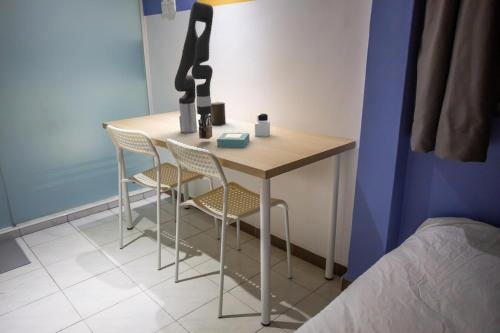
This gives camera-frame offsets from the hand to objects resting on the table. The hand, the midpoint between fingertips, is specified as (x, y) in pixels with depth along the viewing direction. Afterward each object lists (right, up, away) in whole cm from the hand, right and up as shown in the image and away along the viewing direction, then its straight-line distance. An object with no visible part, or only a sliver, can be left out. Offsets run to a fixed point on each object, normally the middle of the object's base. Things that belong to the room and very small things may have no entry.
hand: (205, 136), depth 199 cm
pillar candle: (+3, +11, +45) cm, 47 cm away
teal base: (+15, -4, -4) cm, 16 cm away
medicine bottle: (+31, +1, +13) cm, 33 cm away
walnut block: (0, -1, 0) cm, 1 cm away
